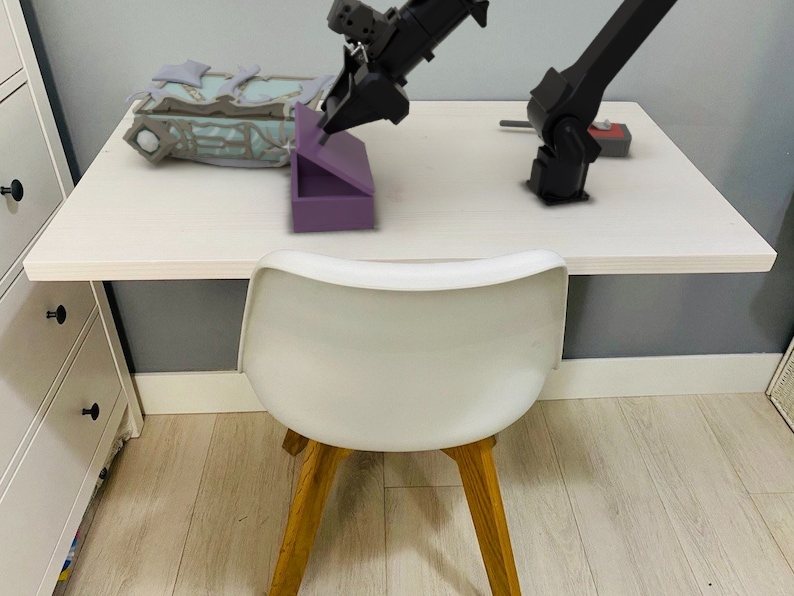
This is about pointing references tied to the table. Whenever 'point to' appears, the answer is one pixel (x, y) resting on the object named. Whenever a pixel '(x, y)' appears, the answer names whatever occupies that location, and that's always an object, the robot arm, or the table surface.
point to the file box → (326, 200)
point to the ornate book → (221, 115)
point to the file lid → (332, 146)
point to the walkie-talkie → (596, 135)
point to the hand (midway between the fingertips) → (324, 120)
